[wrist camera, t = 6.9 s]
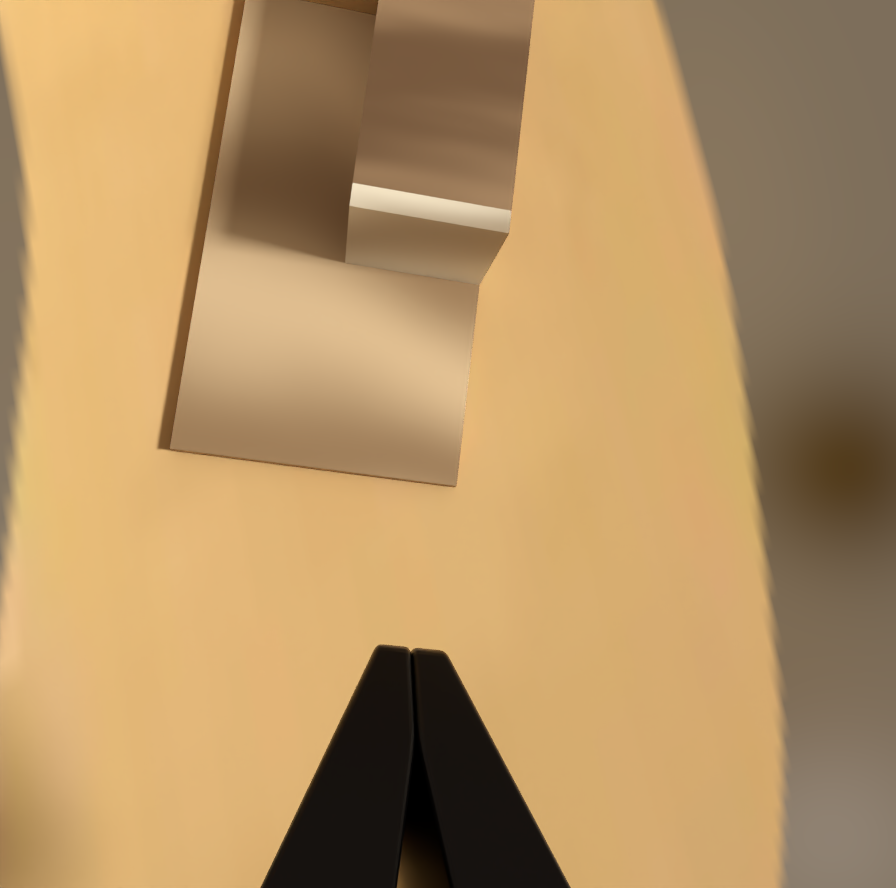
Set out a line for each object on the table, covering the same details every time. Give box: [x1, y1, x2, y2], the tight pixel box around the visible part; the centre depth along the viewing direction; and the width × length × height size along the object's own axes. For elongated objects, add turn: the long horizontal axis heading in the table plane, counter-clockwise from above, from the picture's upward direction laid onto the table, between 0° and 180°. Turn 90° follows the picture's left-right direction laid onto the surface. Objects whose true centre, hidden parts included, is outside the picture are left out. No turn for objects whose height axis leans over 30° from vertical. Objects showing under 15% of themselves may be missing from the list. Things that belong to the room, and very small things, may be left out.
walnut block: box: [345, 0, 535, 285], centre depth 23 cm, size 4×4×10 cm
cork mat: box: [170, 0, 479, 487], centre depth 24 cm, size 14×8×1 cm, turn 173°
